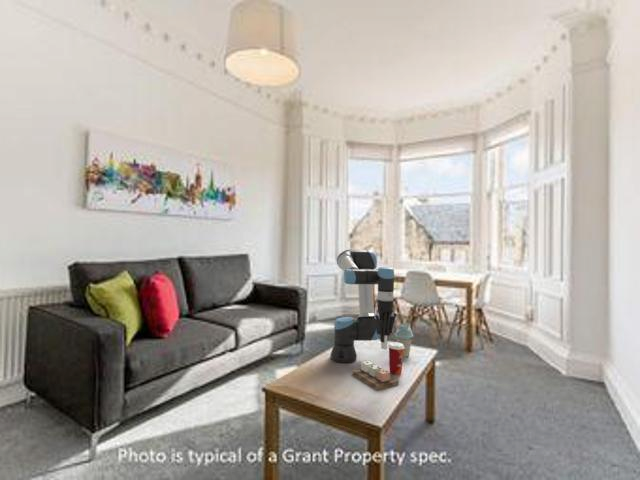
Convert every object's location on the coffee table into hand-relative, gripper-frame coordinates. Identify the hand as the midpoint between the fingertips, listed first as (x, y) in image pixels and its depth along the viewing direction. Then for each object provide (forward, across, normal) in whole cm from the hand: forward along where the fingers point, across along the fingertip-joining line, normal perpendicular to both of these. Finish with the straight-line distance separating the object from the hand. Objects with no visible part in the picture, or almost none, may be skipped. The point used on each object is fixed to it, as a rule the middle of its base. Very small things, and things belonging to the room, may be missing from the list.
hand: (384, 348), depth 168 cm
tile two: (+15, 0, +7) cm, 16 cm away
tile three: (+15, 0, 0) cm, 15 cm away
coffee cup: (+18, +16, +8) cm, 25 cm away
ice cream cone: (+17, +38, +27) cm, 50 cm away
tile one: (+15, 0, +13) cm, 20 cm away
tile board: (+17, 0, +7) cm, 19 cm away
